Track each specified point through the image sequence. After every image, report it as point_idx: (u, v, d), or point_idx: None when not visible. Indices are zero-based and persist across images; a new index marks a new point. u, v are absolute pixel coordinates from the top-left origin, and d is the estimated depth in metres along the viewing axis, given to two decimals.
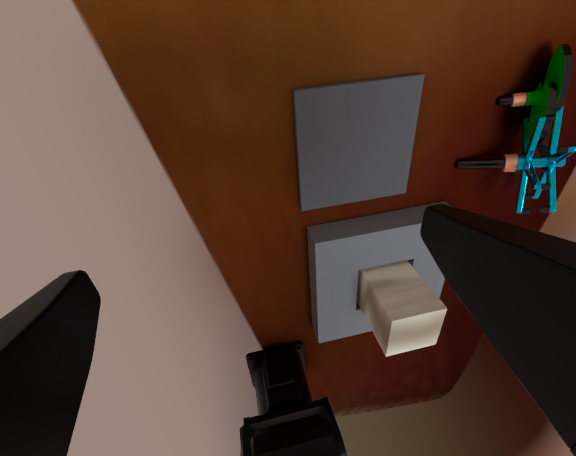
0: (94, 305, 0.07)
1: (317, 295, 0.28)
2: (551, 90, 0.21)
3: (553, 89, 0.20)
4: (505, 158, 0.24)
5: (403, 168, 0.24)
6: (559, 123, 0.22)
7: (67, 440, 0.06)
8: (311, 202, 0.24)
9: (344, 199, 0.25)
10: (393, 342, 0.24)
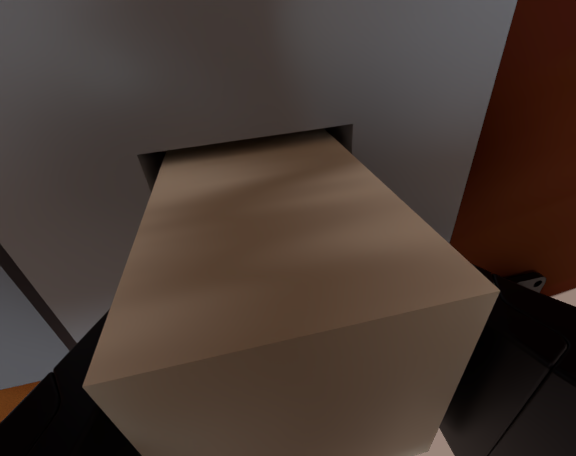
0: None
1: None
2: None
3: None
4: None
5: None
6: None
7: None
8: None
9: (30, 319, 0.11)
10: None
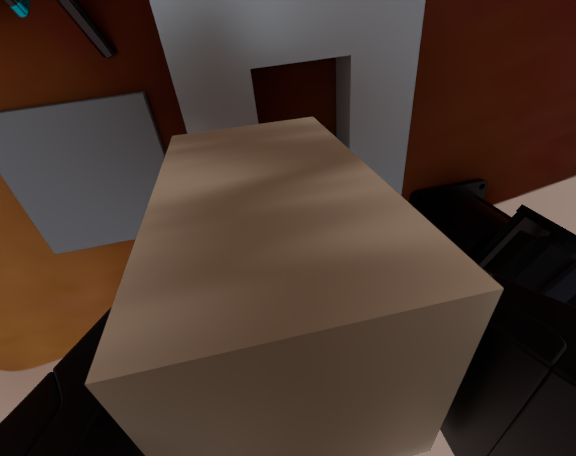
0: None
1: None
2: None
3: None
4: None
5: (102, 109, 0.17)
6: None
7: None
8: None
9: None
10: None
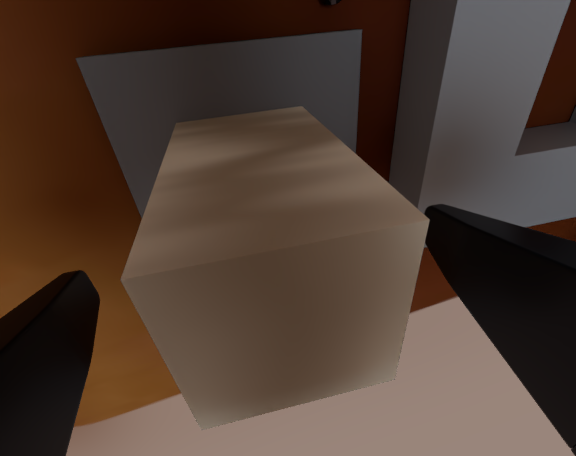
0: (93, 305, 0.07)
1: (525, 225, 0.14)
2: None
3: None
4: None
5: (296, 55, 0.10)
6: None
7: (66, 441, 0.06)
8: None
9: None
10: (323, 387, 0.07)
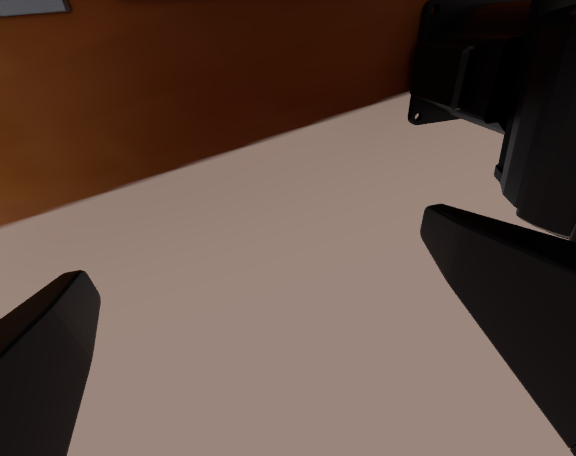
0: (94, 305, 0.07)
1: None
2: None
3: None
4: None
5: None
6: None
7: (67, 440, 0.06)
8: None
9: None
10: None
